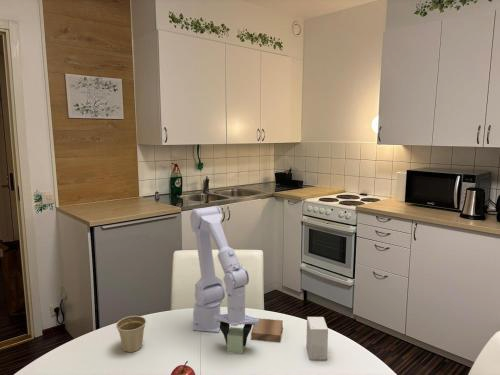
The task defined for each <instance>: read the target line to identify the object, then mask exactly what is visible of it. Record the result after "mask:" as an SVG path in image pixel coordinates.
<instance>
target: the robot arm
mask: <svg viewBox="0 0 500 375" xmlns="http://www.w3.org/2000/svg"><path fill="white" fill-rule="evenodd" d="M189 218H190V219H189V220H190V225H191V226H190V227H191V231H192V232H194V234H195V241H196V249H197V254H198V263H199V271H200V276H201V277H200V278H199V279H198V281H197V282H196V283H195V284H194V298H195V303H194V305H193V309H192V310H193V311H192V312H193V315H192V316H193V317H192V318H193V322H192V323H193V328H192V330H193V331H200V332H208V333H210V332H211V333H219V332H220V331H221V333H222V334H223V337H224V340H225V345H226V346H227V334H228V332H229V329H230V327H237V326H239V325H240V326H241V325H243V327H242V328H243V337H244V339H243V346H245V347H246V346H247V341H248V336H249V334H251V333H250V332H251V331H252V328H253V325H255V327H258V325H259V318H260V317H258V318H257V317H253V316H249V315H246V286H247V285H248V284H249V282H250V275H249V272H248V269H246V268H245V267H244V266H243V265H242V264H240V263H241V262H239V258H238V257H237V255H236V252H235V249H234V248H232V247H230V246H229V242H228V240H227V237H226V234H225V232H224V229H223V226H222V223H223V212H222V210H221V208H220V207H219V206H218V205H214V206H207V207H200V208H193V209H192V210H191V212H190V215H189ZM211 238H212V240H213V242H214V245H215V246H216V249H217V250H218V252H217V259H218V262H219V263H220V265H221V268H222V271H223V273H224V275H223V276H224V277H223V279H222V278H220V277H218V276H216V272H215V271H216V270H215V264H214V256H213V250H212V243H211V242H212V241H211ZM223 284H224V285H223ZM226 293H227V297H226ZM225 297H226V298H227V303H226V304H227V309H226V310H227V313H225V314H221V304H223V300H224V299H225Z"/></svg>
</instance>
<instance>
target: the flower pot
mask: <svg viewBox="0 0 500 375" xmlns="http://www.w3.org/2000/svg"><path fill="white" fill-rule="evenodd" d="M146 324H147V319H146V318H145V317H144V316H140V315H129V316H125V317H123V318H121V319H120V320H118V321H117V322H116V323H115V326H116V327H115V328H116V329H117V331H118V333H119V337H120V342H121V346H122V350H123V351H124V352H127V353H135V352H137V351H139V350H140V349H142V348H143V343H144V342H143V341H144V334H145V333H144V332H145V330H144V329H145V327H146Z"/></svg>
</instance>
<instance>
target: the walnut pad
mask: <svg viewBox="0 0 500 375" xmlns="http://www.w3.org/2000/svg"><path fill="white" fill-rule="evenodd" d="M258 318H259V325H258V327H255V325H252V328H251V331H250V332H251V333H250V340H253V341H263V342H274V343H281V339H282V333H283V320H281V319H272V318H271V319H270V318H260V317H258Z"/></svg>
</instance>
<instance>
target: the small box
mask: <svg viewBox="0 0 500 375" xmlns="http://www.w3.org/2000/svg"><path fill="white" fill-rule="evenodd" d="M328 339H329V328H328V326H327V323H326V319H325V317H324V316H306V349H307V353H308V358H309V361H311V360H313V361H315V360H317V361H321V360H322V361H326V360H328V345H329V344H328V342H329V341H328Z"/></svg>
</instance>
